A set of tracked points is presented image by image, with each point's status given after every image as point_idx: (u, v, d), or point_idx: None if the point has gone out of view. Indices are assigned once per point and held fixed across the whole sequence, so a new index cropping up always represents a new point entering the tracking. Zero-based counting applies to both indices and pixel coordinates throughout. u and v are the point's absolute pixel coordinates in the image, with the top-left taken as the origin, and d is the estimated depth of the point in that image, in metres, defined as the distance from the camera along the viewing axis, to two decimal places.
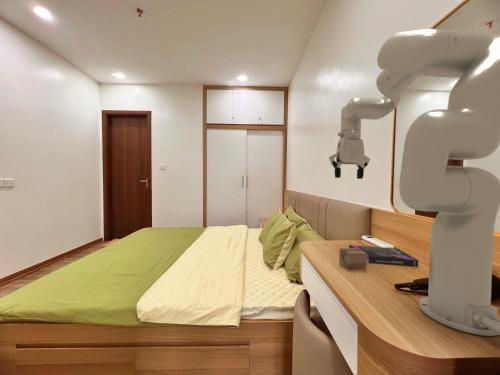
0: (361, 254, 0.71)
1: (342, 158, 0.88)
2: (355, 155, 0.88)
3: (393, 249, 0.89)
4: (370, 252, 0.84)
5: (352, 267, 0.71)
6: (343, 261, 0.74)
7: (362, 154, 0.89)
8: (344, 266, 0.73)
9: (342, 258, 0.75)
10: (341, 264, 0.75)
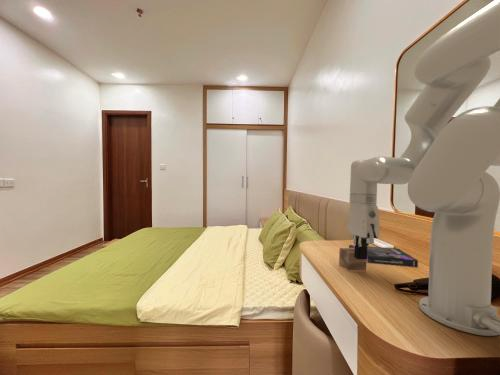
0: None
1: None
2: None
3: (393, 249, 0.89)
4: (369, 252, 0.84)
5: (352, 267, 0.71)
6: (343, 261, 0.74)
7: None
8: (344, 266, 0.73)
9: (342, 258, 0.75)
10: (341, 264, 0.75)
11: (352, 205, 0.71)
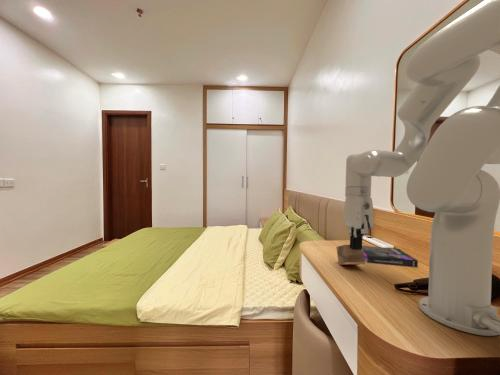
0: None
1: None
2: None
3: (394, 249, 0.89)
4: (369, 252, 0.84)
5: (351, 259, 0.72)
6: (341, 257, 0.75)
7: None
8: (343, 261, 0.74)
9: (340, 255, 0.76)
10: (340, 262, 0.76)
11: (347, 198, 0.74)
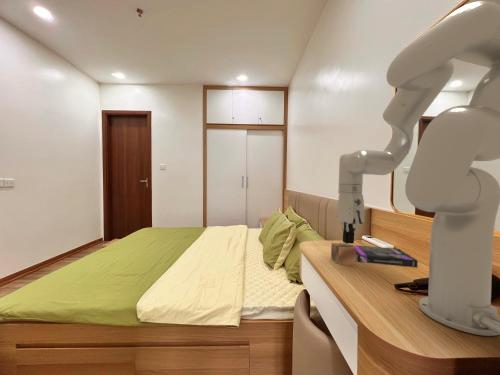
0: (342, 243, 0.83)
1: None
2: None
3: (394, 249, 0.89)
4: (369, 252, 0.84)
5: (341, 246, 0.78)
6: (336, 255, 0.79)
7: None
8: (338, 253, 0.78)
9: (335, 257, 0.80)
10: (338, 259, 0.78)
11: (341, 195, 0.78)
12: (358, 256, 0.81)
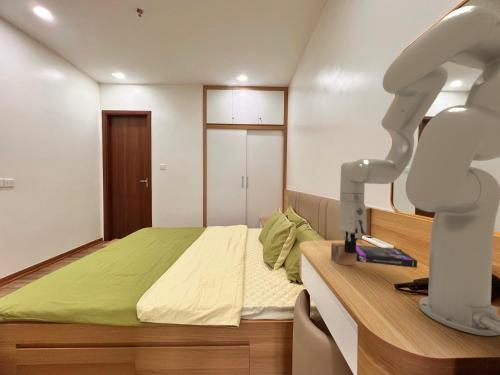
0: (342, 243, 0.83)
1: None
2: None
3: (394, 249, 0.89)
4: (369, 252, 0.84)
5: (341, 246, 0.78)
6: (336, 255, 0.79)
7: None
8: (338, 253, 0.78)
9: (335, 256, 0.80)
10: (338, 259, 0.78)
11: (342, 203, 0.77)
12: (357, 256, 0.81)
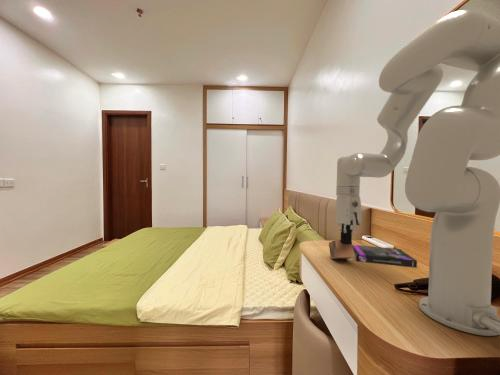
0: None
1: None
2: None
3: (394, 249, 0.89)
4: (368, 251, 0.84)
5: None
6: (334, 250, 0.81)
7: None
8: (335, 247, 0.80)
9: (334, 252, 0.81)
10: (336, 253, 0.79)
11: (338, 196, 0.80)
12: (357, 256, 0.81)
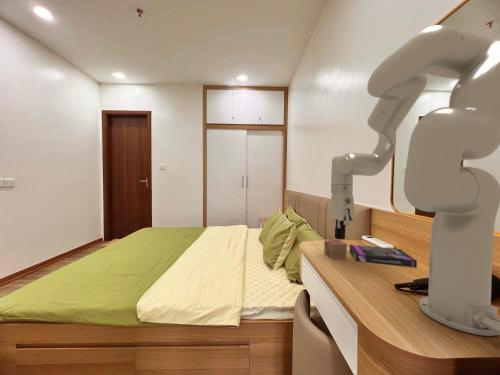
0: None
1: None
2: None
3: (394, 249, 0.89)
4: (368, 251, 0.85)
5: None
6: (328, 247, 0.85)
7: None
8: (327, 243, 0.86)
9: (329, 249, 0.85)
10: (329, 244, 0.84)
11: (333, 194, 0.84)
12: (356, 256, 0.82)
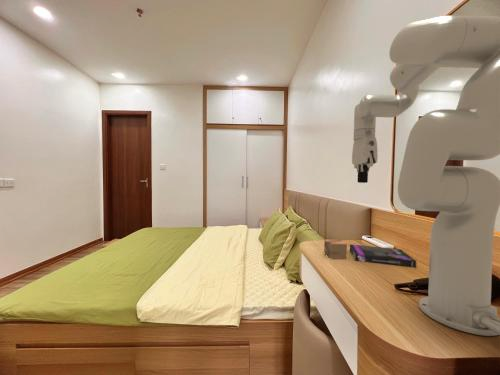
0: None
1: None
2: None
3: (395, 250, 0.89)
4: (368, 251, 0.85)
5: None
6: (328, 247, 0.85)
7: None
8: (327, 243, 0.86)
9: (329, 249, 0.85)
10: (329, 244, 0.84)
11: (355, 140, 0.88)
12: (356, 255, 0.82)
